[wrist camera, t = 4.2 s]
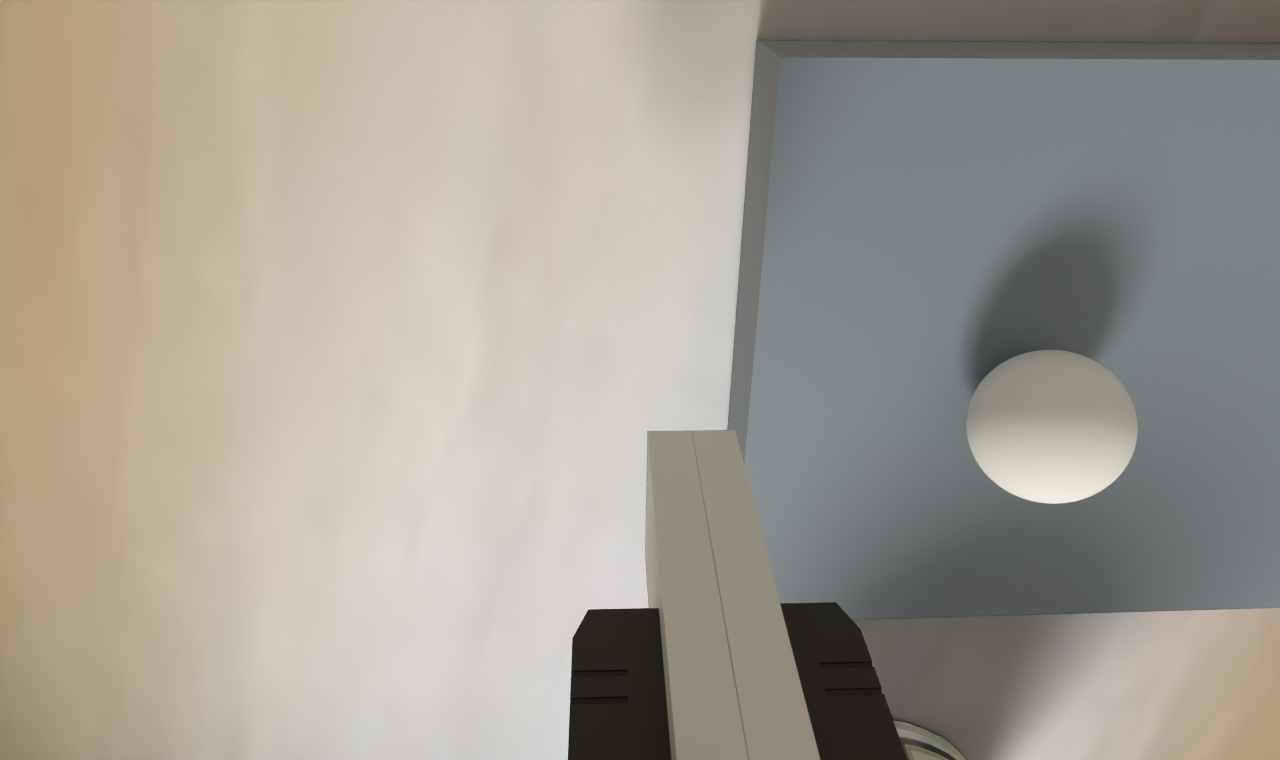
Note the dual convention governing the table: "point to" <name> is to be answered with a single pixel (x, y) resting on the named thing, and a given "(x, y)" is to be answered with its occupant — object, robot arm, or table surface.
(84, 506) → the table surface
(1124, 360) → the deck
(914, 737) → the coffee can
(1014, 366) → the ball
